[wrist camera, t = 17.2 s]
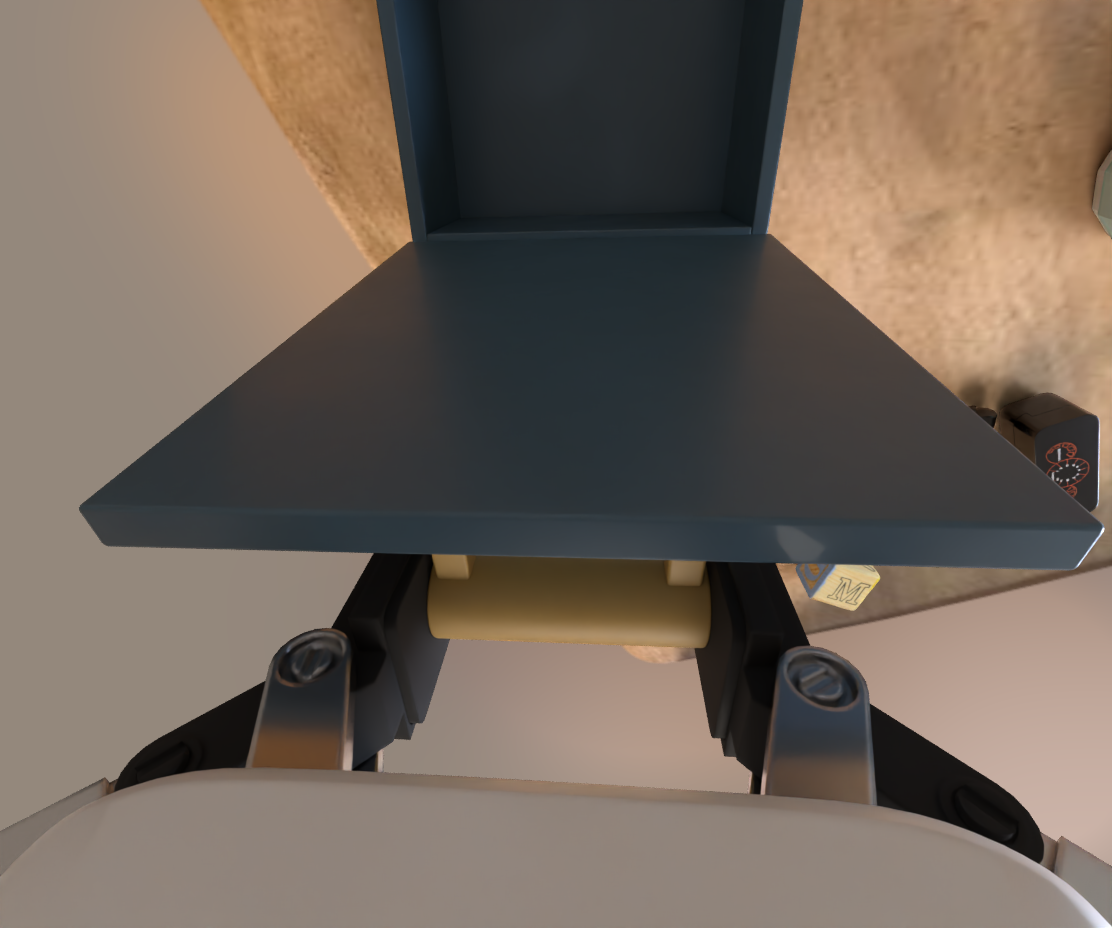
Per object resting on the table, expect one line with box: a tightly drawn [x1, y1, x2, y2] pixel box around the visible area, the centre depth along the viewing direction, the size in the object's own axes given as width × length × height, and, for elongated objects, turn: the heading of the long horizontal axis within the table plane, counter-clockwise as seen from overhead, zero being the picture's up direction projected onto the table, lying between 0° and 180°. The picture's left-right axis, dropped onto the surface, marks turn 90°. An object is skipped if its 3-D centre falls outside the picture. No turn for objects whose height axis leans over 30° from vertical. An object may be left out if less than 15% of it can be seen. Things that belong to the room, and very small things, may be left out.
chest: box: [376, 0, 803, 242], centre depth 20 cm, size 15×14×7 cm
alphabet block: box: [796, 564, 880, 611], centre depth 34 cm, size 3×3×3 cm
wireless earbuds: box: [968, 393, 1099, 512], centre depth 29 cm, size 5×7×3 cm, turn 25°
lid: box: [79, 234, 1104, 648], centre depth 15 cm, size 16×14×5 cm
